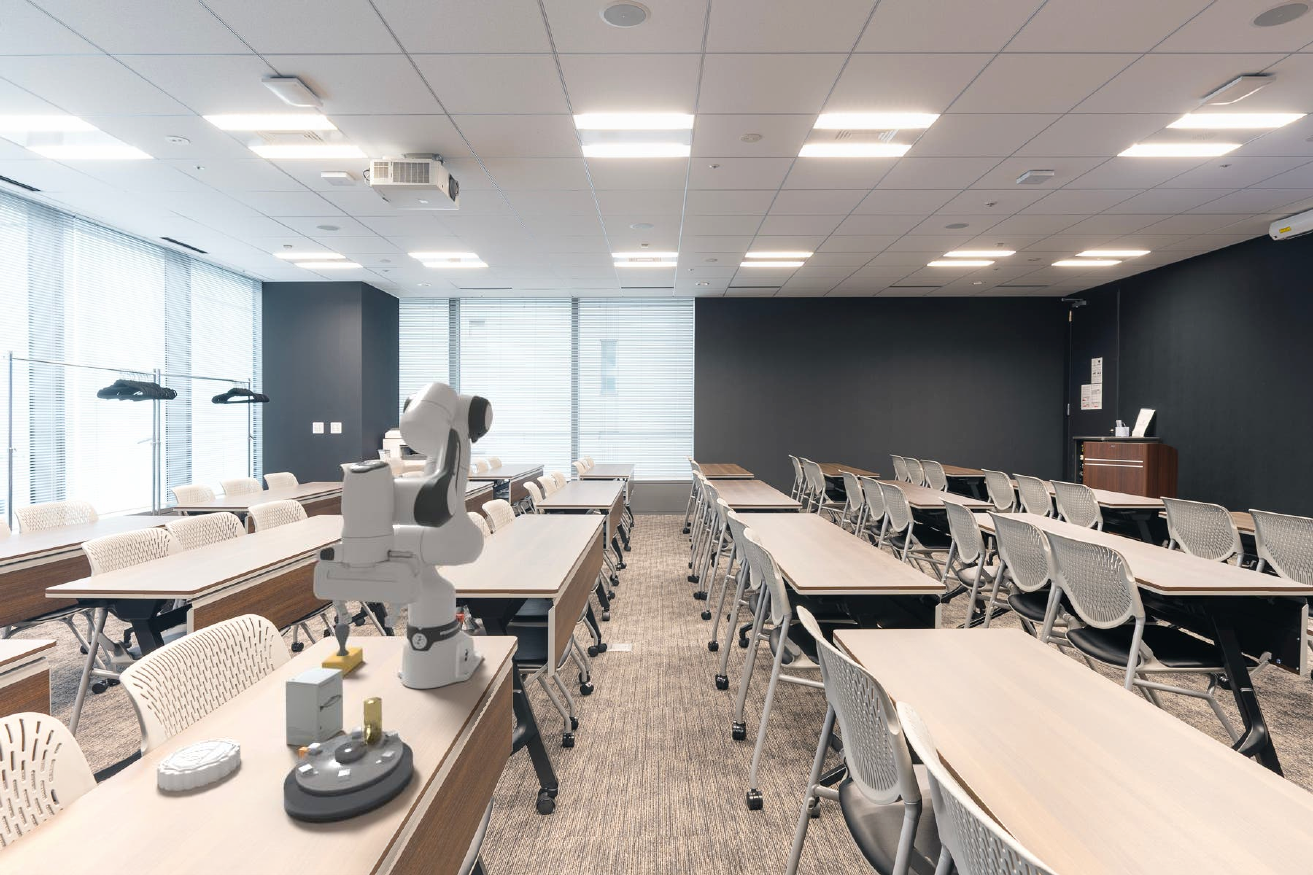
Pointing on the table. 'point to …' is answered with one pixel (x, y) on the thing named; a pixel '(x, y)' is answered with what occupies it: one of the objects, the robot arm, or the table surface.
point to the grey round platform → (346, 795)
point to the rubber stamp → (343, 652)
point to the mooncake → (198, 764)
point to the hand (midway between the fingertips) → (368, 624)
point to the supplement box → (314, 706)
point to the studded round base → (351, 758)
